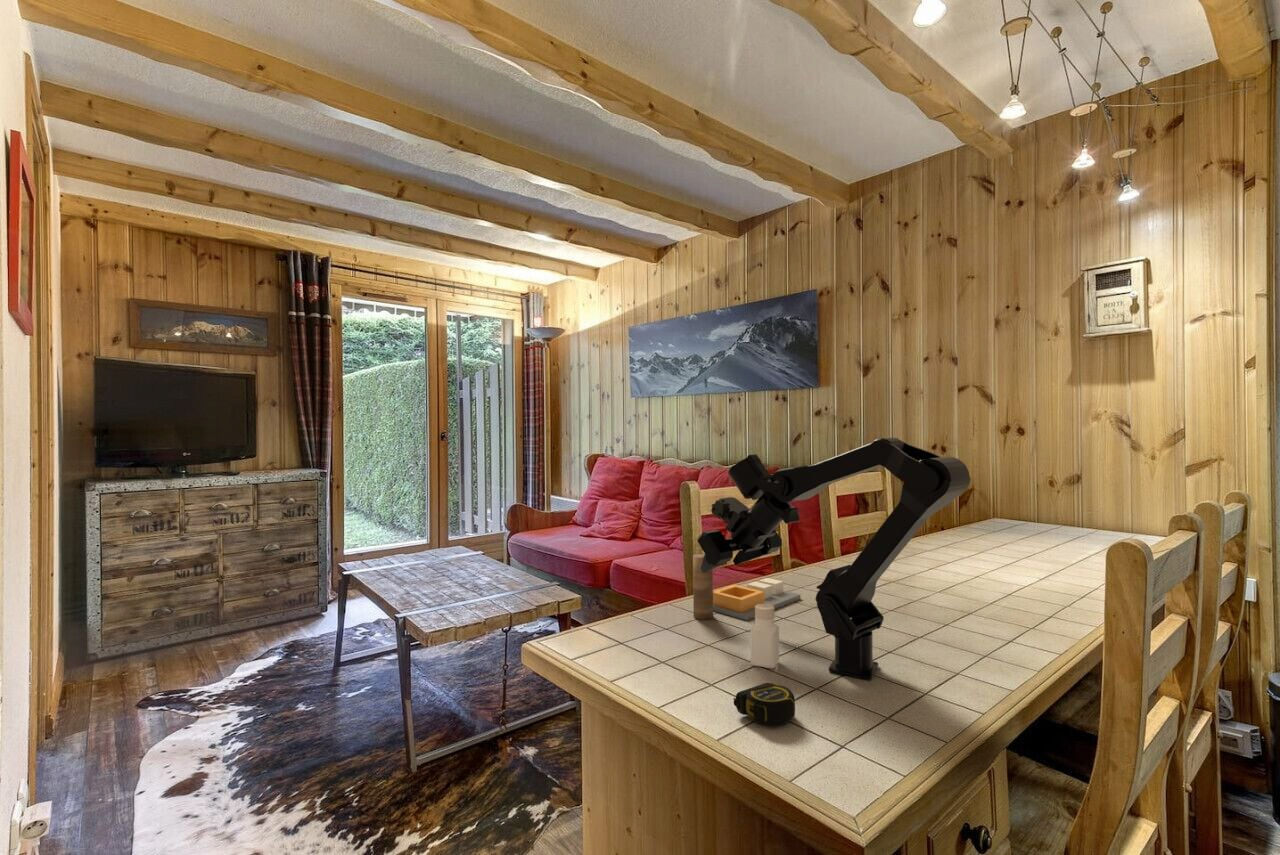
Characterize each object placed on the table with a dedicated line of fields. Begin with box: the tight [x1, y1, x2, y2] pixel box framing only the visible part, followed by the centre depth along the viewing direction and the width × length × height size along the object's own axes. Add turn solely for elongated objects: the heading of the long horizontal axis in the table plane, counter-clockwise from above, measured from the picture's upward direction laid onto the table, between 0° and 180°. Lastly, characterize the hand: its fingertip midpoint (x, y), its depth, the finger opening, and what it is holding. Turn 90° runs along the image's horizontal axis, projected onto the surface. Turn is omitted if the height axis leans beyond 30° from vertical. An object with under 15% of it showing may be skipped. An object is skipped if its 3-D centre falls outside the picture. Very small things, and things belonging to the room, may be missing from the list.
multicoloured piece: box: [713, 577, 801, 621], centre depth 130 cm, size 20×12×4 cm, turn 134°
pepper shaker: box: [750, 604, 780, 669], centre depth 98 cm, size 4×4×10 cm
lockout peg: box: [692, 553, 714, 621], centre depth 121 cm, size 4×4×12 cm
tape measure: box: [732, 682, 796, 726], centre depth 80 cm, size 7×7×4 cm
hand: (718, 566), depth 118 cm, fingers open, 9 cm apart
